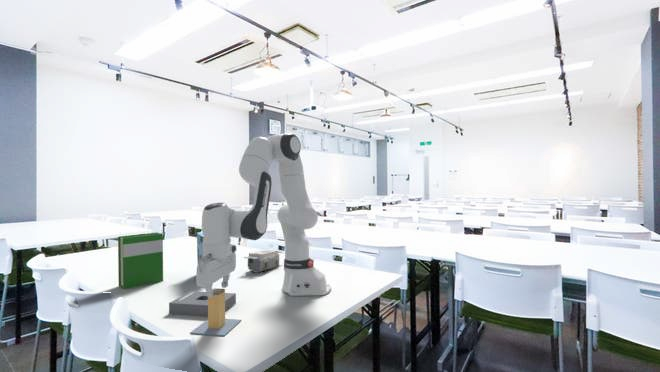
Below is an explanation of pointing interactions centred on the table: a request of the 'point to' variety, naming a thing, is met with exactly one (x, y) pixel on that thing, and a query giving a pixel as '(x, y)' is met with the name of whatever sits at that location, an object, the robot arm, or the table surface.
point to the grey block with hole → (197, 303)
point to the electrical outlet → (263, 260)
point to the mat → (222, 331)
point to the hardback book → (140, 259)
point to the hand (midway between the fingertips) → (218, 291)
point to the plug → (216, 309)
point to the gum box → (199, 246)
